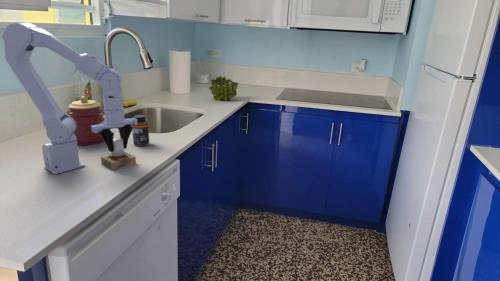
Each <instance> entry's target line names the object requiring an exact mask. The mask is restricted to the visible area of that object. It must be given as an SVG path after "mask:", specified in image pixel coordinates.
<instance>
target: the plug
mask: <svg viewBox="0 0 500 281" xmlns="http://www.w3.org/2000/svg"><path fill="white" fill-rule="evenodd" d="M113 146H114V152H110V153H111V155H112V156H122V155H124V152H125V148H124V144H123V139H122V138H120V137H113Z"/></svg>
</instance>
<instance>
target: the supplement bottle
mask: <svg viewBox="0 0 500 281" xmlns="http://www.w3.org/2000/svg"><path fill="white" fill-rule="evenodd" d="M133 118H136V119H137V125H131V127H132V132H131V133H132V141H133V143H132V144H133V145H134V146H137V147H144V146H148V145H149V144H150V133H149V131H150V130H149V122H148V121H147V120H146V115H144V114H135V115H134V116H133Z"/></svg>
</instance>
